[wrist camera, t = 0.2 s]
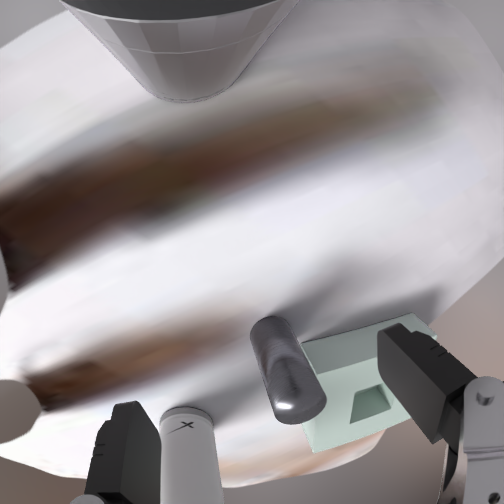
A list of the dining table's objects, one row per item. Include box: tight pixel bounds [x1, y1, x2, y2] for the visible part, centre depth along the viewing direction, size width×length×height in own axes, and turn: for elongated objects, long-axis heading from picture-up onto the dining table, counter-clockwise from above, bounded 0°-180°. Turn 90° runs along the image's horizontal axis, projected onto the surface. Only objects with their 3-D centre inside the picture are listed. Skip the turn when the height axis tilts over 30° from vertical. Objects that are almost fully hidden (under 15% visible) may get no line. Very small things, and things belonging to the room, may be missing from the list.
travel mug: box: [159, 407, 225, 504], centre depth 23 cm, size 6×7×20 cm
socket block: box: [301, 313, 437, 453], centre depth 32 cm, size 14×14×5 cm
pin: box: [250, 316, 327, 425], centre depth 25 cm, size 4×4×10 cm
